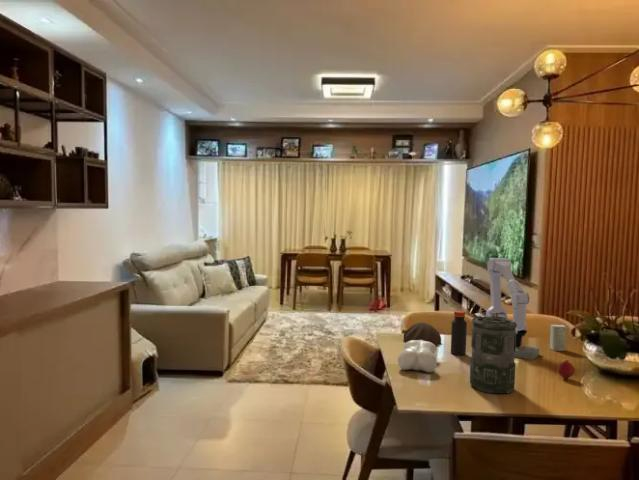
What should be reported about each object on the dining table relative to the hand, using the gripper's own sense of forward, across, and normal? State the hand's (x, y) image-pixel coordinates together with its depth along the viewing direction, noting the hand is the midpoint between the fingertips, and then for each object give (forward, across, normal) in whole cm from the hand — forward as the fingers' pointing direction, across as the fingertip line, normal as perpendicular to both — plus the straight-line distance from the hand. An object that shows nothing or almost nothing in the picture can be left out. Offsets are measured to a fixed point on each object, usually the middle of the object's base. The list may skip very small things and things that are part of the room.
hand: (518, 345), depth 229 cm
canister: (+4, -56, -5) cm, 56 cm away
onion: (+4, -26, -25) cm, 36 cm away
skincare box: (+4, +22, -13) cm, 26 cm away
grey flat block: (+4, 0, 0) cm, 4 cm away
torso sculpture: (+4, -46, +29) cm, 55 cm away
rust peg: (+3, 0, 0) cm, 3 cm away
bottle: (+4, -19, +22) cm, 29 cm away
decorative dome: (+4, -8, +45) cm, 46 cm away
